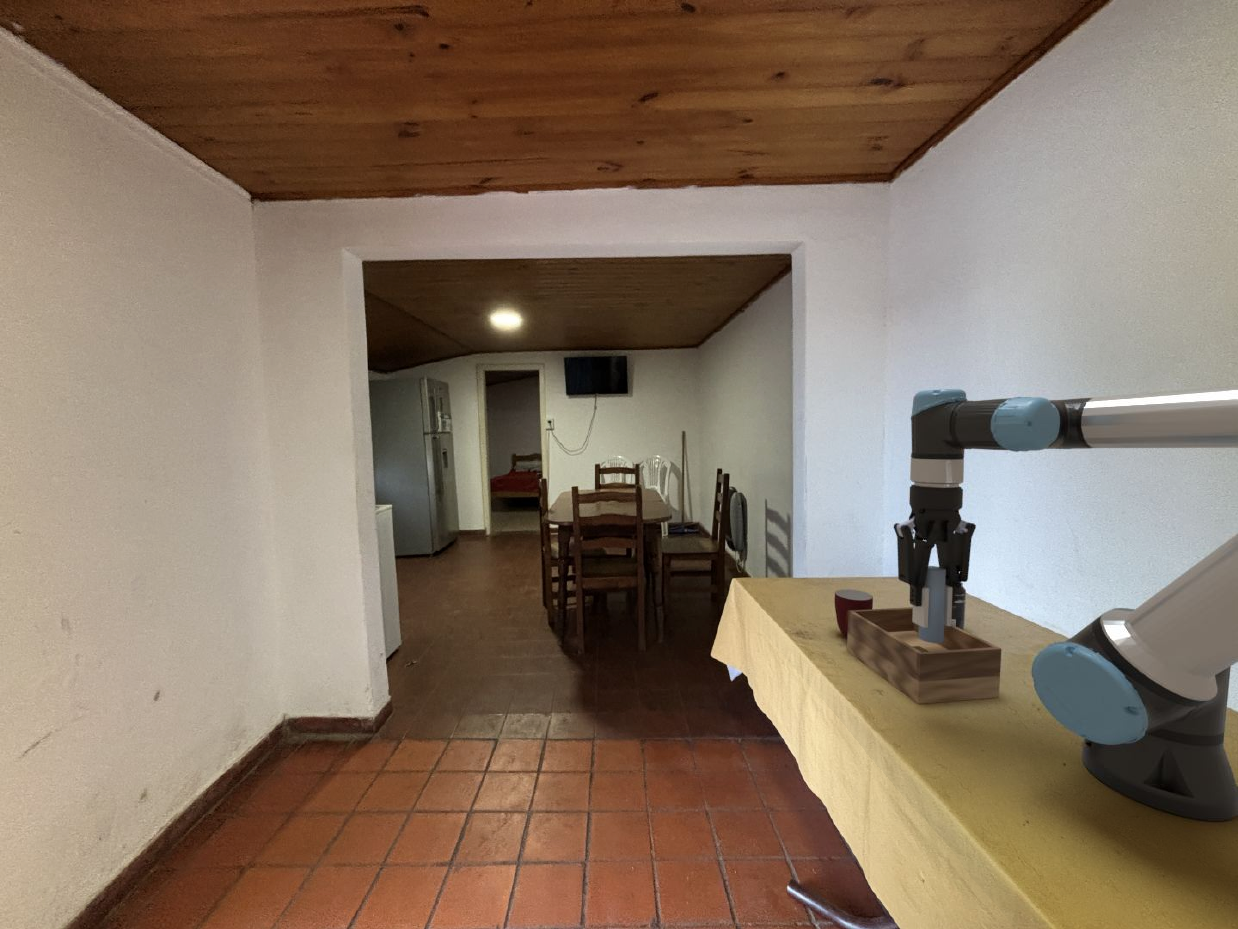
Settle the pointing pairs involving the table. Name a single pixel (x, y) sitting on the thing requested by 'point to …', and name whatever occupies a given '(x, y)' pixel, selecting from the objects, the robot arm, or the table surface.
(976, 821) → the table surface
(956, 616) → the beverage can
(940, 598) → the peg
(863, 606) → the mug
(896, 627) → the tray box
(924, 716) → the table surface
